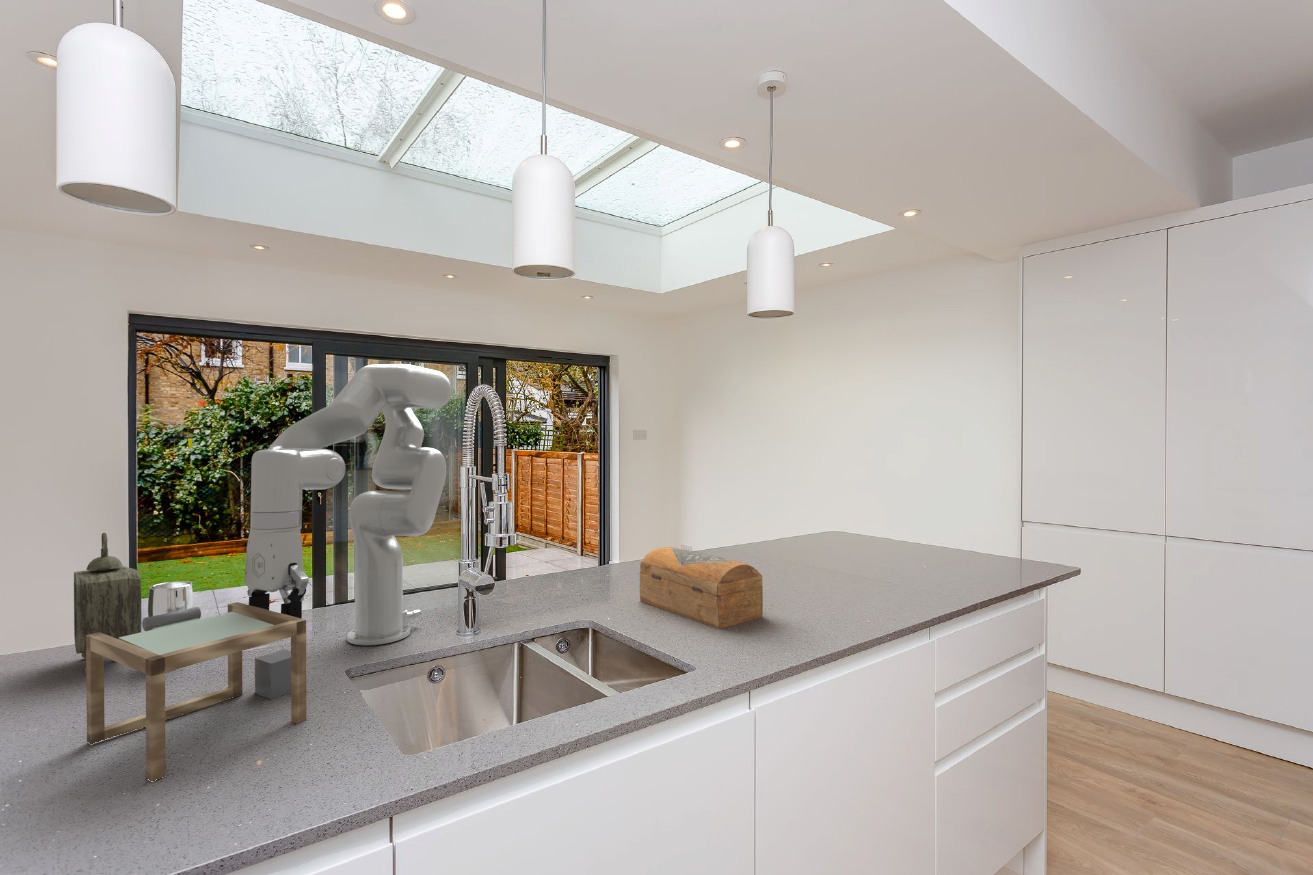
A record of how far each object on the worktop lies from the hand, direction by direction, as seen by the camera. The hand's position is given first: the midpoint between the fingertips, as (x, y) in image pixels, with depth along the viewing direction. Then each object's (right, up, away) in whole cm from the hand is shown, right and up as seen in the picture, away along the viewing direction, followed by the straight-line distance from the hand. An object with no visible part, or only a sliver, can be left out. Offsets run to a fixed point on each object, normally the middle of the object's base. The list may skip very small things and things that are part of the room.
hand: (274, 621), depth 107 cm
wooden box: (+76, -12, +51) cm, 93 cm away
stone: (0, -12, +1) cm, 12 cm away
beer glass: (-28, -12, +14) cm, 34 cm away
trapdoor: (-4, +2, -13) cm, 14 cm away
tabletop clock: (-41, -12, +14) cm, 45 cm away
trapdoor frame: (-3, -12, -14) cm, 19 cm away
